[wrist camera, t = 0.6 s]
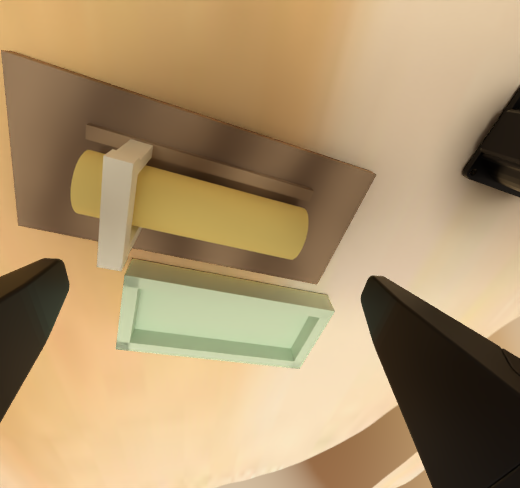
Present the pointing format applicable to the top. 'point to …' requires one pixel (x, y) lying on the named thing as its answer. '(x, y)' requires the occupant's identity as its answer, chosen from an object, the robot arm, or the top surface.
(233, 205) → the yellow cylinder
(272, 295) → the tray
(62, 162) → the holder board
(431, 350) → the robot arm
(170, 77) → the top surface
